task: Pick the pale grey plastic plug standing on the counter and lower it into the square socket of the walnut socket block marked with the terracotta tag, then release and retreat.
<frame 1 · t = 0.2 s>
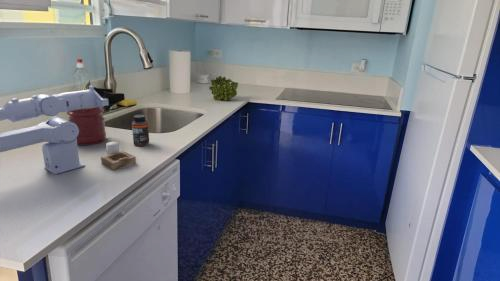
hand: (117, 94, 117), 21 cm above the worktop, tool horizontal, fingers open, 7 cm apart
green broccoli head: (222, 100, 219), on the worktop
plug: (113, 157, 119), on the worktop
supplement bottle: (141, 144, 133), on the worktop
socket block: (118, 163, 113), on the worktop
canister: (88, 140, 135), on the worktop
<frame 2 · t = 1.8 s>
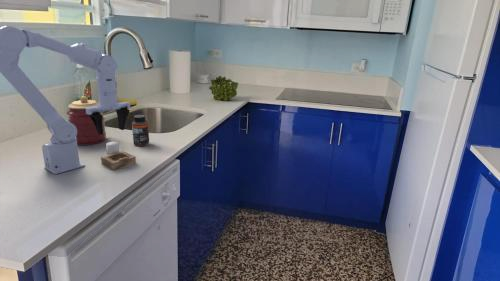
hand: (111, 131, 116), 9 cm above the worktop, tool pointing down, fingers open, 7 cm apart
nothing on the worktop moved.
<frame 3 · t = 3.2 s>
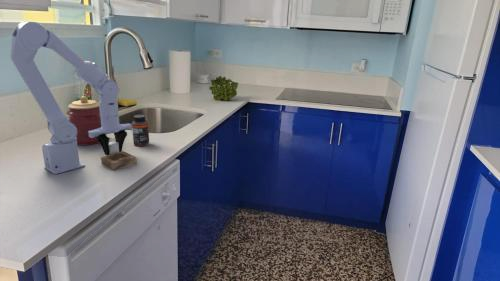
hand: (113, 153, 119), 1 cm above the worktop, tool pointing down, fingers closed on plug, 4 cm apart
plug: (113, 157, 119), on the worktop, touching gripper
everything else where it was.
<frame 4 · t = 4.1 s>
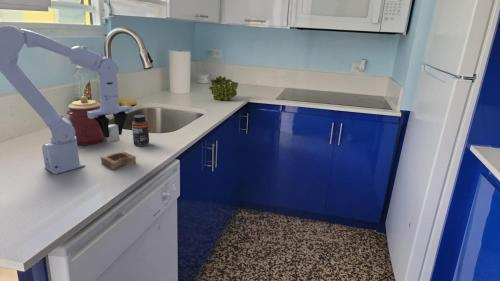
hand: (112, 135, 115), 8 cm above the worktop, tool pointing down, fingers closed on plug, 4 cm apart
plug: (113, 140, 115), point 7 cm above the worktop, touching gripper
everything else where it was.
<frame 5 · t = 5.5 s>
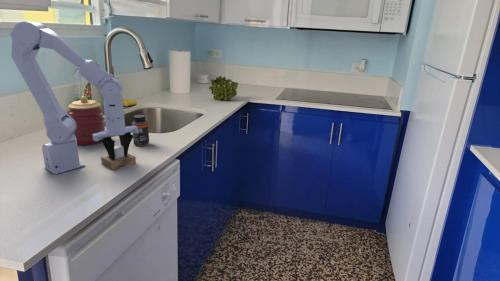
hand: (118, 157, 113), 2 cm above the worktop, tool pointing down, fingers closed on plug, socket block, 4 cm apart
plug: (118, 161, 113), point 1 cm above the worktop, touching gripper
everything else where it was.
when the fingers open (2 cm above the worktop, at t = 6.5 s): plug stays where it is, resting in socket block.
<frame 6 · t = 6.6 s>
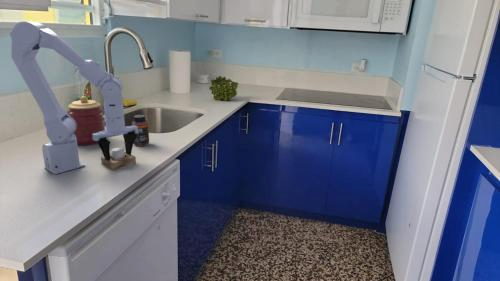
hand: (118, 156, 113), 3 cm above the worktop, tool pointing down, fingers open, 7 cm apart
plug: (118, 163, 113), resting in socket block
everything else where it was.
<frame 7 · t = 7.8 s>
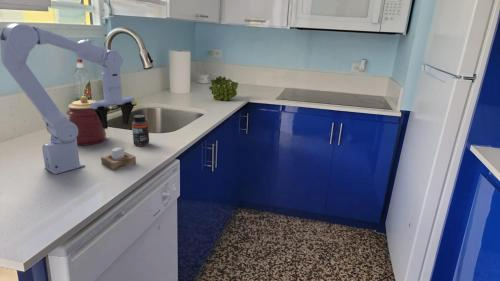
hand: (115, 126, 118), 10 cm above the worktop, tool pointing down, fingers open, 7 cm apart
nothing on the worktop moved.
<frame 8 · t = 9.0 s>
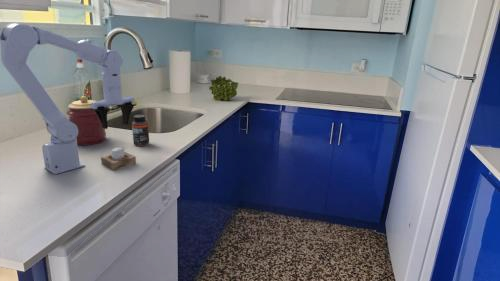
hand: (115, 126, 118), 10 cm above the worktop, tool pointing down, fingers open, 7 cm apart
nothing on the worktop moved.
at the end: plug 0.1 cm off-centre on the socket block, point 0.0 cm above the socket block's base; plug tilted 0°; the gripper is holding nothing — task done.
